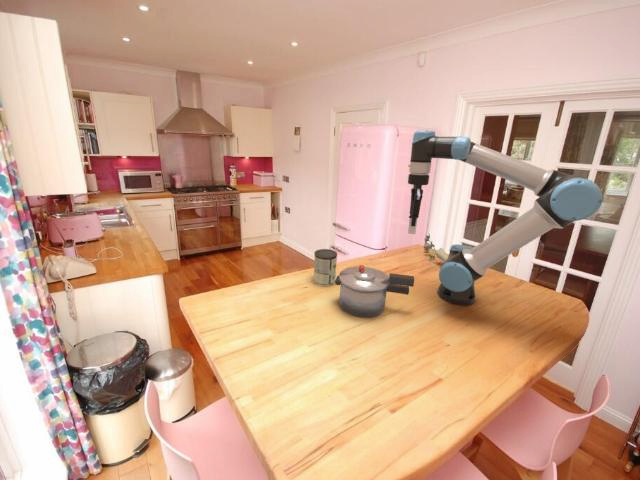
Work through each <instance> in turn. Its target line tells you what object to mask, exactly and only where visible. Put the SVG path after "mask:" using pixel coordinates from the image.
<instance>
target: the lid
mask: <svg viewBox="0 0 640 480" xmlns="http://www.w3.org/2000/svg"><path fill="white" fill-rule="evenodd" d="M338 276H339V280H340V282H341V283H342V284H343V285H344V286H346V287H347V288H350V289H352V290H355V291H360V292H380V291H383V290H385V289H387V288H388V287H389V285H390V284H395V285H402V286H409V287H412V288H413V287H414V284H415V276H414V275H409V274H408V275H407V274H398V273H392V272H391V273H389V275H388V274H387V273H385V272H384V271H382V270H381V269H380V270H379V269H377V268H373V267H370V266H369V267H368V266H364V265H362V264H361V265H358V266H350V267H347V268H344V269H342V270H341V271H340V272H339V275H338Z"/></svg>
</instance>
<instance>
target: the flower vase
mask: <svg viewBox="0 0 640 480" xmlns="http://www.w3.org/2000/svg"><path fill="white" fill-rule="evenodd" d="M424 241H425V242H424V244H423V250H424V252H423V254H428V253H429V251H430V250H432V251H433V252H434V253H433V255H432V254H429V255H428V256H427V257H428V258H429V260H430V261H431V260H432V259H435V257H436V258H437V259H439V260H440V261H442V262H443V263H445V261H446V260H447V258H448V257H449V254H448V253H447V252H446V251H445V250H444V249H443V248H442V247H440V248H438V249H437V250H436V249H435V247H436V246H435V245H434V244H433V241H432V240H431V235H430V233H428V235H425V238H424Z"/></svg>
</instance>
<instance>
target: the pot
mask: <svg viewBox="0 0 640 480" xmlns="http://www.w3.org/2000/svg"><path fill="white" fill-rule="evenodd" d="M334 285H336V286H340V291H339V301H338V304H339V307H340V309H341V310H342V311H343V312H344V313H346V314H348V315H349V316H353V317H355V318H361V319H369V318H372V319H373V318H376V317H379V316H381V315H382V314H383V313H384V311H385V305H386V300H387V299H386V298H387V293H394V294H400V295H409V294H410V286H403V285H396V284H390V285H389V287H388V288H387V289H385V290H383V291H380V292H360V291H355V290H352V289H350V288H347V287H346V286H344V285H343V284H342V283H341V282H340V280H339V275H337V276H336V278H335V283H334Z"/></svg>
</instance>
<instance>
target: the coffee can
mask: <svg viewBox="0 0 640 480" xmlns="http://www.w3.org/2000/svg"><path fill="white" fill-rule="evenodd" d="M313 255H314V261H313V262H314V265H313V266H314V267H313V283H314V284H315V285H317V286H321V287H330V286H333V285H335V280H336V278H337V276H336V275H337V274H336V273H337V260H338V252H337V251H336V250H333V249H328V248H321V249H316V250H315V251H314V254H313Z"/></svg>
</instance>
